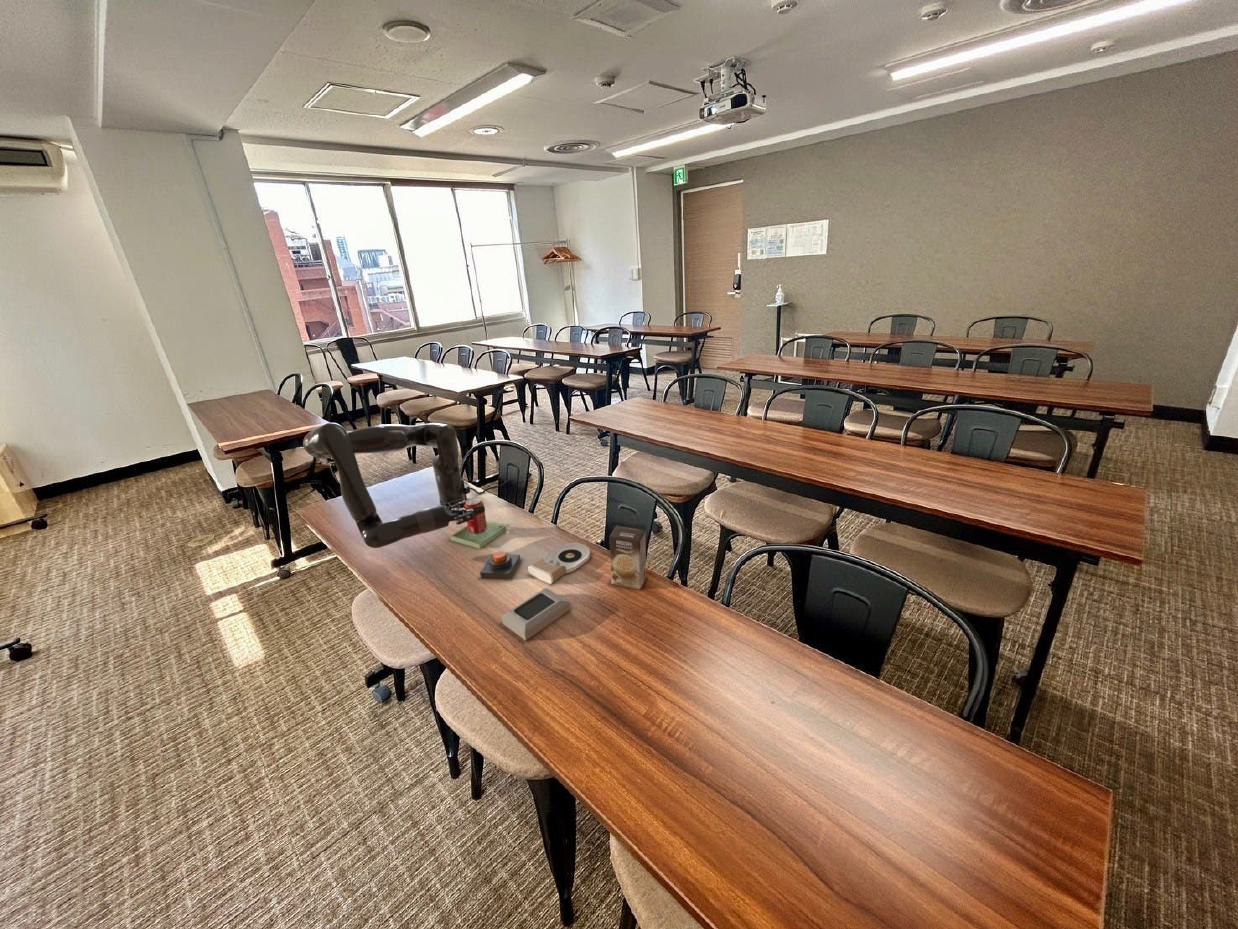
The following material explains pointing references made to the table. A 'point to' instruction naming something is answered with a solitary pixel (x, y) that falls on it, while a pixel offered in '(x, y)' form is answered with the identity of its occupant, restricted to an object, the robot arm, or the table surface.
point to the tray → (478, 540)
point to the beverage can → (476, 517)
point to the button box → (500, 567)
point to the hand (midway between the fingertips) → (480, 504)
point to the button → (499, 557)
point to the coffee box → (628, 556)
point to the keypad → (535, 613)
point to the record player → (560, 562)
